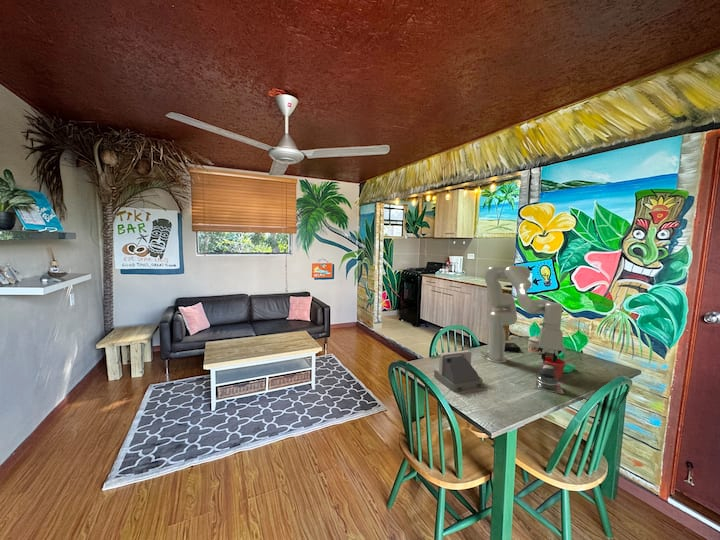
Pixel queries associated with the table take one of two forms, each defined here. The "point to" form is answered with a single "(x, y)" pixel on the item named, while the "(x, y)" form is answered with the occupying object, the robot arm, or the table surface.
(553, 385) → the lens barrel
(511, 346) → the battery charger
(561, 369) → the flower pot
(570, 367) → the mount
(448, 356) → the grey sloped stand
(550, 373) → the dark grey cube
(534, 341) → the teacup with lid
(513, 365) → the table surface
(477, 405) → the table surface
